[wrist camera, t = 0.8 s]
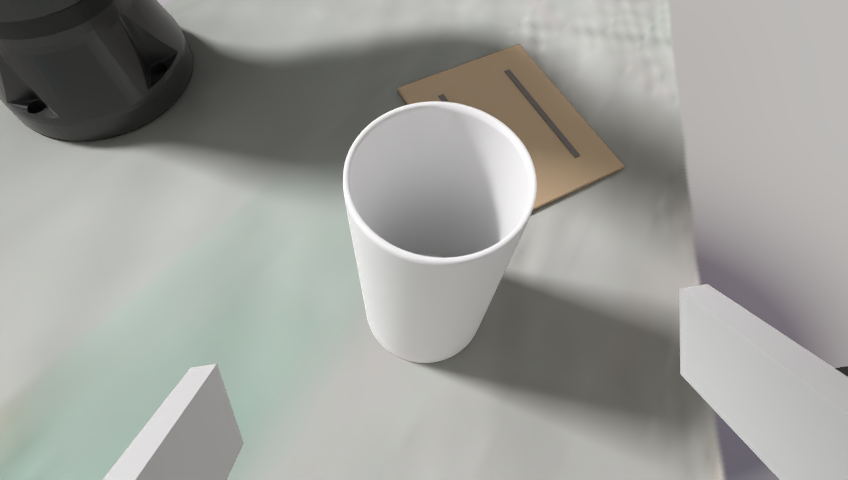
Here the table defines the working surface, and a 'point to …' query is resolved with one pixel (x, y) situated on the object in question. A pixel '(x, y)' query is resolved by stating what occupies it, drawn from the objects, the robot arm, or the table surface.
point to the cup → (434, 222)
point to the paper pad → (526, 118)
